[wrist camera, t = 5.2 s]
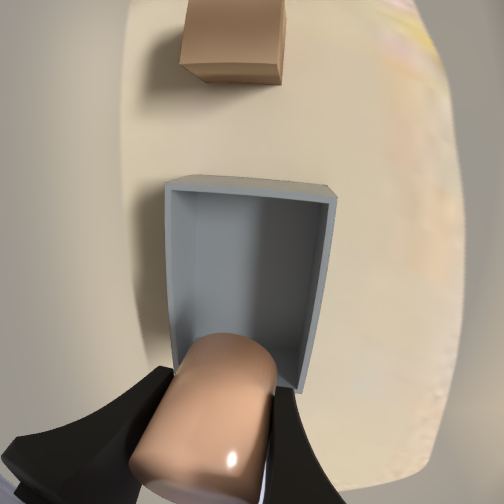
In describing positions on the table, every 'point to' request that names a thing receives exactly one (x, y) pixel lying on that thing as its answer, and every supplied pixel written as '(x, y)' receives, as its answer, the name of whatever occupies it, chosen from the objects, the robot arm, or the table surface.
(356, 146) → the table surface
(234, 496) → the cylinder
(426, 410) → the table surface
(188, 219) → the tote
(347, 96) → the table surface
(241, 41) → the cube
